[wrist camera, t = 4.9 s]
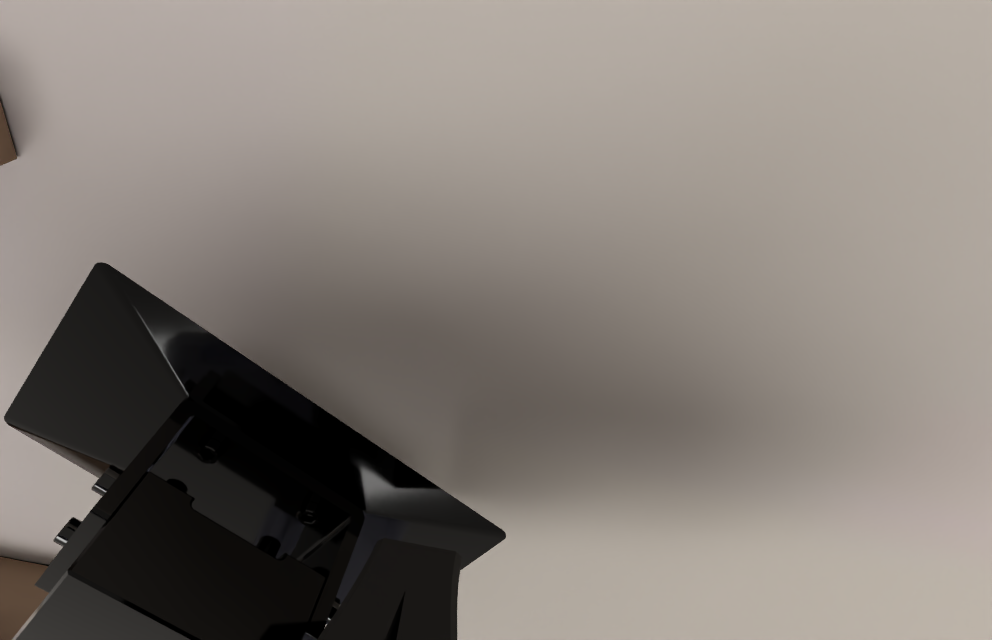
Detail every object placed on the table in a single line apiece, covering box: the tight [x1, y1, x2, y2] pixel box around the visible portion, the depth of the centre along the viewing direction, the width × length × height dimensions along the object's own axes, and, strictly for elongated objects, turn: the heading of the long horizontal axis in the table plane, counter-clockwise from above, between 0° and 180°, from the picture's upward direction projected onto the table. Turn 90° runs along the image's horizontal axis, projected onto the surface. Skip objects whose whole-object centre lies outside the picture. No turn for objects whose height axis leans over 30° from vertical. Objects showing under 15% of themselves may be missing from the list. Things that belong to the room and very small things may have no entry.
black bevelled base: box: [4, 263, 506, 640], centre depth 12 cm, size 12×7×5 cm, turn 49°
